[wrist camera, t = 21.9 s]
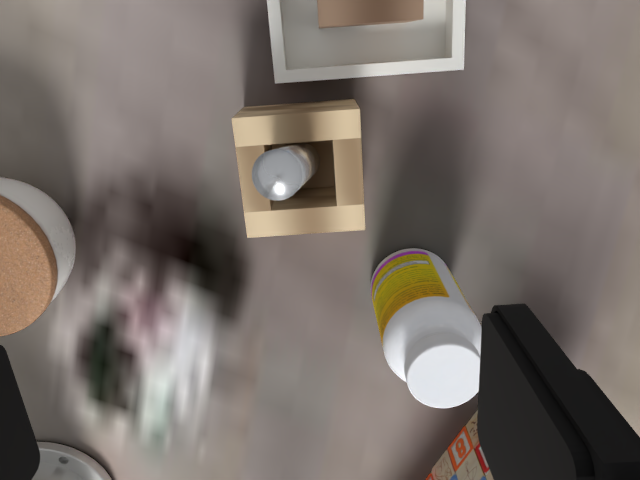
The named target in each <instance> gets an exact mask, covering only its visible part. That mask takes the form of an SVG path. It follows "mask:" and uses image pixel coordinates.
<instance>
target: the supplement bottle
mask: <svg viewBox="0 0 640 480" xmlns="http://www.w3.org/2000/svg"><path fill="white" fill-rule="evenodd" d="M371 296H372V301H373V305H374V310H375V314H376V318H377V323H378V327H379V332H380V336H381V341H382V346H383V351H384V354H385V358H386V360H387V362H388V364H389V366H390V368H391V369H392V370H393V372H394V373H395V374H396V375H397V376H398V377H400V378H401V379H402V380H404V381H405V382H407V385H408V388H409V390H410V392H411V393H412V395H413V396H414V397H415V398H416V399H417V400H418V401H420V402H421V403H423V404H425V405H427V406H430V407H434V408H451V407H455V406H458V405H461V404H463V403H465V402H467V401H468V400H470V399H471V398H472V397H473V396H475V395H476V393H477V392H478V391H479V374H480V353H481V332H482V327H481V325H480V323H479V321H478V319H477V317H476V315H475V314H474V312H473V310H472V309H471V307H470V305H469V303H468V302H467V300H466V298H465V296H464V295H463V293H462V291H461V289H460V288H459V286H458V284H457V282H456V280H455V279H454V277H453V275H452V273H451V272H450V270H449V268H448V267H447V265H446V264H445V263H444V261H443V260H442V259H441V258H440V257H438V256H437V255H435V254H434V253H432V252H430V251H427V250H423V249H417V248H409V249H403V250H399V251H397V252H394V253H392V254H391V255H389V256H388V257H386V258H385V259H384V260H383V261H382V262H381V263H380V264H379V265H378V267H377V268H376V270H375V272H374V274H373V277H372V280H371Z"/></svg>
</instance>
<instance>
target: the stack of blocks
mask: <svg viewBox="0 0 640 480" xmlns="http://www.w3.org/2000/svg"><path fill="white" fill-rule="evenodd" d="M477 417H478V410H477V411H476V412H475V414H474V415H473V416H472V418H471V419H470V420H469V422H468V423H467V424H466V426H464V427H463V428H462V430H461V431H460V432H459V434H458V435H457V436H456V438H455V439H454V440H453V442H452V443H451V444H450V446H449V447H448V449H447V450H446V451H445V452H444V453H443V455H442V456H441V457H440V459H439V460H438V461H437V463H436V464H435V465H434V467H433V468H432V470H431V473H430V474H429V475H428V477H427V478H426V480H494V479H493V477H492V474H491V471H490V469H489V466H488V464H487V461H486V459H485V456H484V454H483V451H482V449H481V446H480V443H479V439H478V432H477Z"/></svg>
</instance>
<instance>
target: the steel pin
mask: <svg viewBox="0 0 640 480" xmlns="http://www.w3.org/2000/svg"><path fill="white" fill-rule="evenodd" d="M319 166H320V156H319V153H318V151H317V150H316V149H315V148H314V147H313V146H312V145H310V144H307V143H298V144H294V145H290V146H286V147H281V148H277V149H273V150H269V151H266V152H264V153H263V154H261V155H260V156H259V157H258V158H257V159H256V161H255V163H254V165H253V168H252V181H253V184H254V186H255V188H256V190H257V191H258V192H259V193H260V194H261V195H262V196H264V197H265V198H268V199H270V200H277V201H279V200H285V199H287V198H289V197H291V196H292V195H294V194H295V193H296V192H297V191H298V190H299V189H300V188H301V187H302V186H303V185H304V184H305V183H306V182H307V181H308V180H309V179H310V178H311V177H312V176H313V175H314V174H315V173H316V172H317V170H318V169H319Z"/></svg>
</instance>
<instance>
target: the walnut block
mask: <svg viewBox="0 0 640 480" xmlns="http://www.w3.org/2000/svg"><path fill="white" fill-rule="evenodd" d="M317 9H318V25H319V29H320V28H334V27H349V26H363V25H377V24H392V23H406V22H412V21H417V20H422V19H423V15H424V0H317Z"/></svg>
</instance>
